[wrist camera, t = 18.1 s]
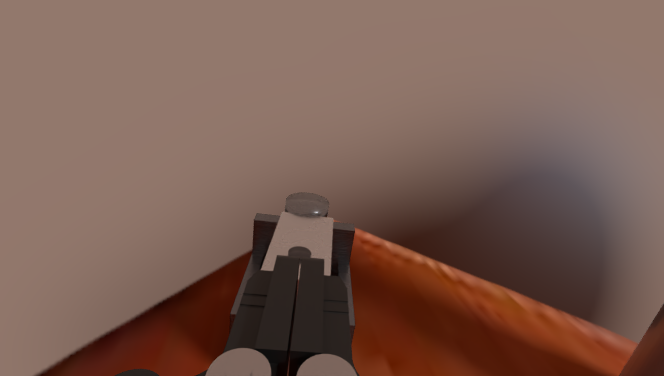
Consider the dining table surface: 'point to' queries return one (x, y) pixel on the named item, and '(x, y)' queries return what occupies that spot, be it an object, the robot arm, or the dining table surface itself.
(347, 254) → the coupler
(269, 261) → the block
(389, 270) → the dining table surface
